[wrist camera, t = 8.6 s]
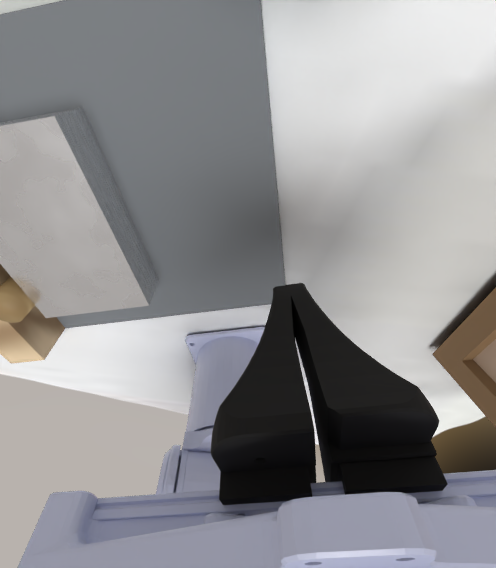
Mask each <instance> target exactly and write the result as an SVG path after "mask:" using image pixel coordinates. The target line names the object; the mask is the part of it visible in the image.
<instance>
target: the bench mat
mask: <svg viewBox="0 0 496 568" xmlns="http://www.w3.org/2000/svg"><path fill="white" fill-rule="evenodd" d="M81 107H83V108H84V110H85V112H86V114H87V117H88V119H89V121H90V124H91V126H92V128H93V130H94V133H95V135H96V137H97V140H98V142H99V144H100V146H101V149H102V151H103V153H104V156H105V158H106V160H107V162H108V165H109V167H110V169H111V172H112V174H113V176H114V178H115V181H116V183H117V185H118V188H119V190H120V192H121V194H122V197H123V199H124V201H125V204H126V206H127V208H128V210H129V213H130V215H131V217H132V220H133V222H134V224H135V226H136V229H137V231H138V233H139V236H140V238H141V240H142V242H143V245H144V247H145V249H146V252H147V254H148V256H149V258H150V261H151V263H152V265H153V268H154V270H155V272H156V274H157V277H158V279H159V282H158V284H157V287H156V289H155V292H154V295H153V297H152V300H151V302H150V305H149V306H142V307H134V308H126V309H118V310H109V311H101V312H93V313H84V314H76V315H68V316H60V317H57V319H58V320H59V321H60V322H61V324H62V325H63V326H64V327H65V328H71V327H80V326H88V325H97V324H106V323H114V322H123V321H131V320H140V319H148V318H157V317H165V316H174V315H182V314H191V313H199V312H208V311H216V310H225V309H233V308H242V307H250V306H259V305H267V304H272V299H273V288H274V287H276V286H283V285H285V275H284V263H283V252H282V240H281V229H280V218H279V206H278V195H277V183H276V172H275V160H274V149H273V137H272V126H271V115H270V103H269V92H268V80H267V69H266V57H265V46H264V35H263V23H262V12H261V0H64V1H59V2H55V3H50V4H46V5H41V6H37V7H32V8H28V9H23V10H19V11H14V12H10V13H5V14H0V123H1V122H6V121H11V120H17V119H22V118H28V117H33V116H38V115H44V114H49V113H55V112H60V111H65V110H71V109H76V108H81Z"/></svg>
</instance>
